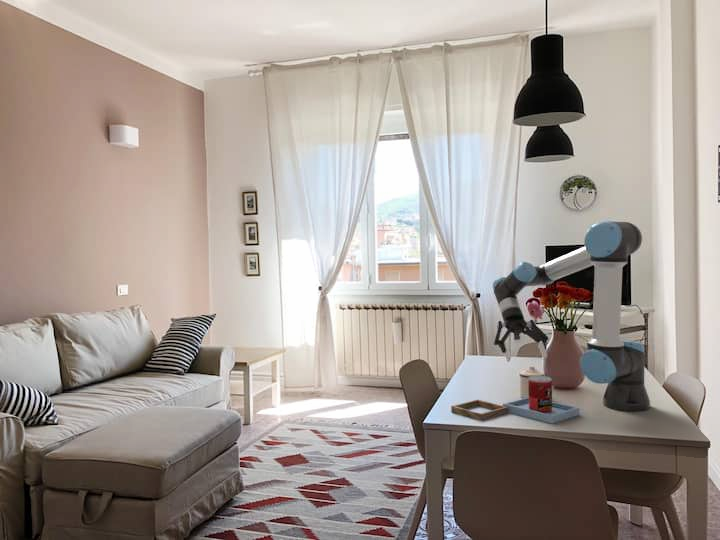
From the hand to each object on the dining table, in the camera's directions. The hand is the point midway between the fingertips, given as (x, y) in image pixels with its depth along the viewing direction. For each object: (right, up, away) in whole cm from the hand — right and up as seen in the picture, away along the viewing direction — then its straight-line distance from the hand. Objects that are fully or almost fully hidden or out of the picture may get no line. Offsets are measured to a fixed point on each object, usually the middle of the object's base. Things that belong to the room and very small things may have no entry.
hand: (527, 358), depth 212 cm
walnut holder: (-19, -17, -8) cm, 27 cm away
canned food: (+2, -16, -10) cm, 19 cm away
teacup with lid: (+6, -16, +13) cm, 22 cm away
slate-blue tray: (+2, -17, -10) cm, 20 cm away
